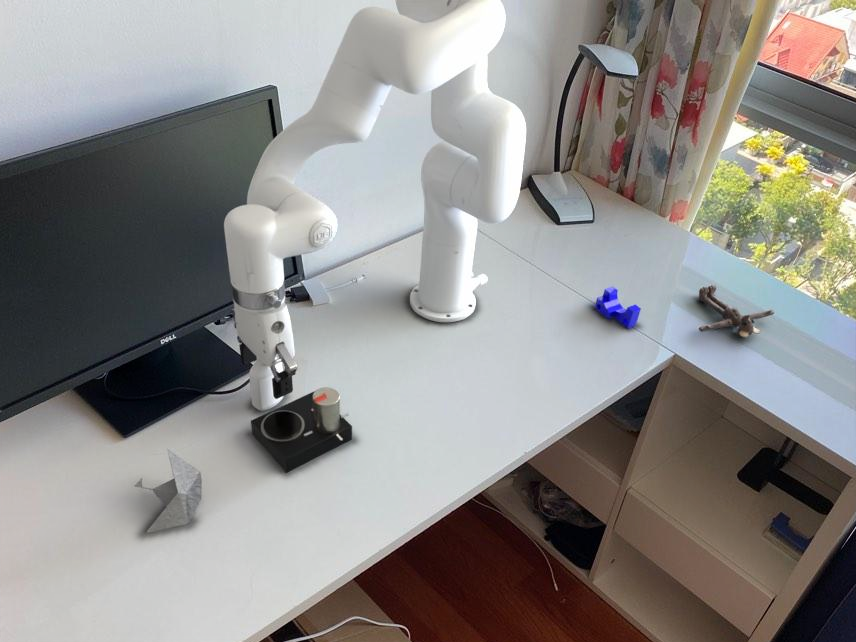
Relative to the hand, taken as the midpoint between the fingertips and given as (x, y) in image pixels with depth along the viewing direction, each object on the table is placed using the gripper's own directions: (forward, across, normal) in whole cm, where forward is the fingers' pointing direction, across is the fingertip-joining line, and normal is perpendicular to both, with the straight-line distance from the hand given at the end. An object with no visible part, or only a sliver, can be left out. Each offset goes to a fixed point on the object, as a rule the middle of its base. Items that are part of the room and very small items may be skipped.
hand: (266, 377), depth 128 cm
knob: (+2, -12, -3) cm, 13 cm away
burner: (+2, -9, +3) cm, 10 cm away
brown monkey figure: (+6, -30, -84) cm, 89 cm away
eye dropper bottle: (+5, 0, 0) cm, 5 cm away
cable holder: (+6, -18, -66) cm, 68 cm away
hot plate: (+5, -10, 0) cm, 11 cm away
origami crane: (+5, -10, +22) cm, 25 cm away
